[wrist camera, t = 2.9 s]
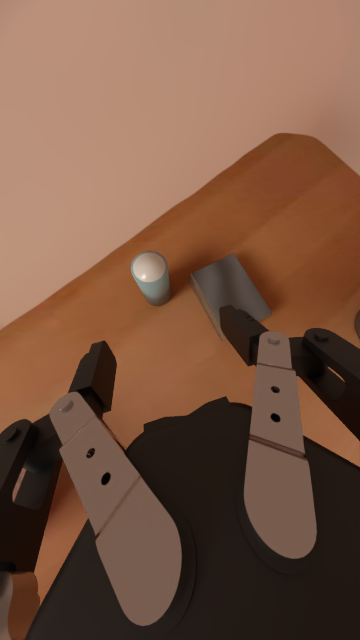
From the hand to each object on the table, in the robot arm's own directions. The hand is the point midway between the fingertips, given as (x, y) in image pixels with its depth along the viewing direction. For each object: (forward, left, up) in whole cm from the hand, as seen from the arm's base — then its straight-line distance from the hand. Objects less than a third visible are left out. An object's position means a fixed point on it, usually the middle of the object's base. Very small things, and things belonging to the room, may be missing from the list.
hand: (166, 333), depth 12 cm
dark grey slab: (-13, -4, -19) cm, 23 cm away
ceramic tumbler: (-2, -11, -19) cm, 22 cm away
